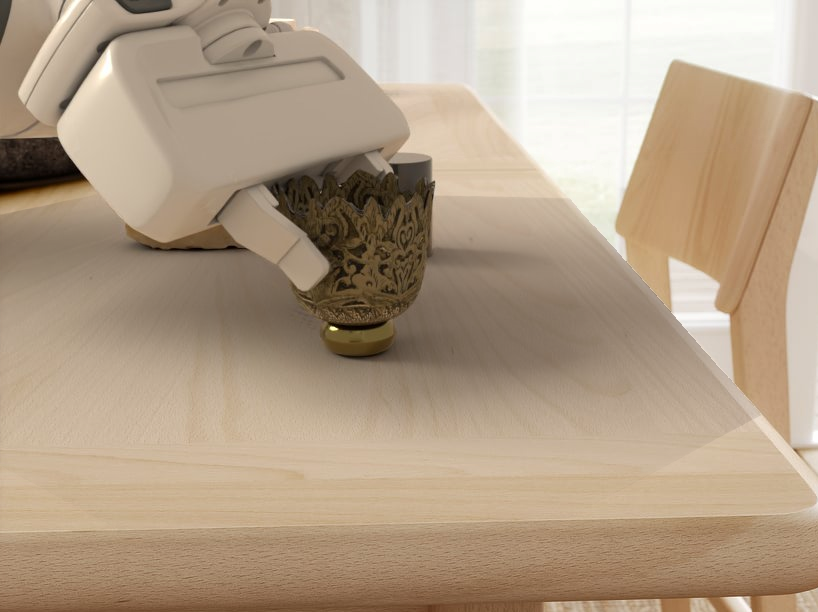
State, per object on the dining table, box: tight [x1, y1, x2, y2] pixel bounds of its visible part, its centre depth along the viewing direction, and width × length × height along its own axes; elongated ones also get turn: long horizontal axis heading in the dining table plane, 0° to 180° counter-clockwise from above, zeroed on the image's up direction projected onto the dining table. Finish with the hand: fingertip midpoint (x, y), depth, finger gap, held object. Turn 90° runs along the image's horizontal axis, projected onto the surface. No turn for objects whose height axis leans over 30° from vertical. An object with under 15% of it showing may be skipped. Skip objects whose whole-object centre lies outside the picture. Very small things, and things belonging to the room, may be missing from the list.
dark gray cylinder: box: [387, 151, 434, 258], centre depth 74 cm, size 4×4×6 cm
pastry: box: [125, 223, 247, 251], centre depth 77 cm, size 9×7×4 cm
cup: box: [272, 169, 436, 357], centre depth 55 cm, size 8×7×8 cm
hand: (368, 259), depth 55 cm, fingers closed on cup, 7 cm apart
